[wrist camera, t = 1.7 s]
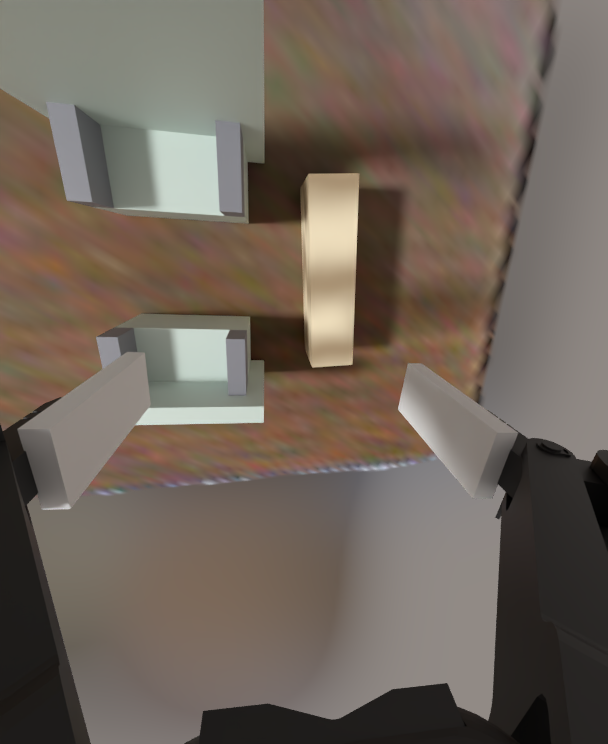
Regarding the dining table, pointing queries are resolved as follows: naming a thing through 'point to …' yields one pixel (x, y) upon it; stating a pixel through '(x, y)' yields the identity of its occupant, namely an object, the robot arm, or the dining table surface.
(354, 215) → the maple rail
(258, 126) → the bed frame
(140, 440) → the dining table surface
